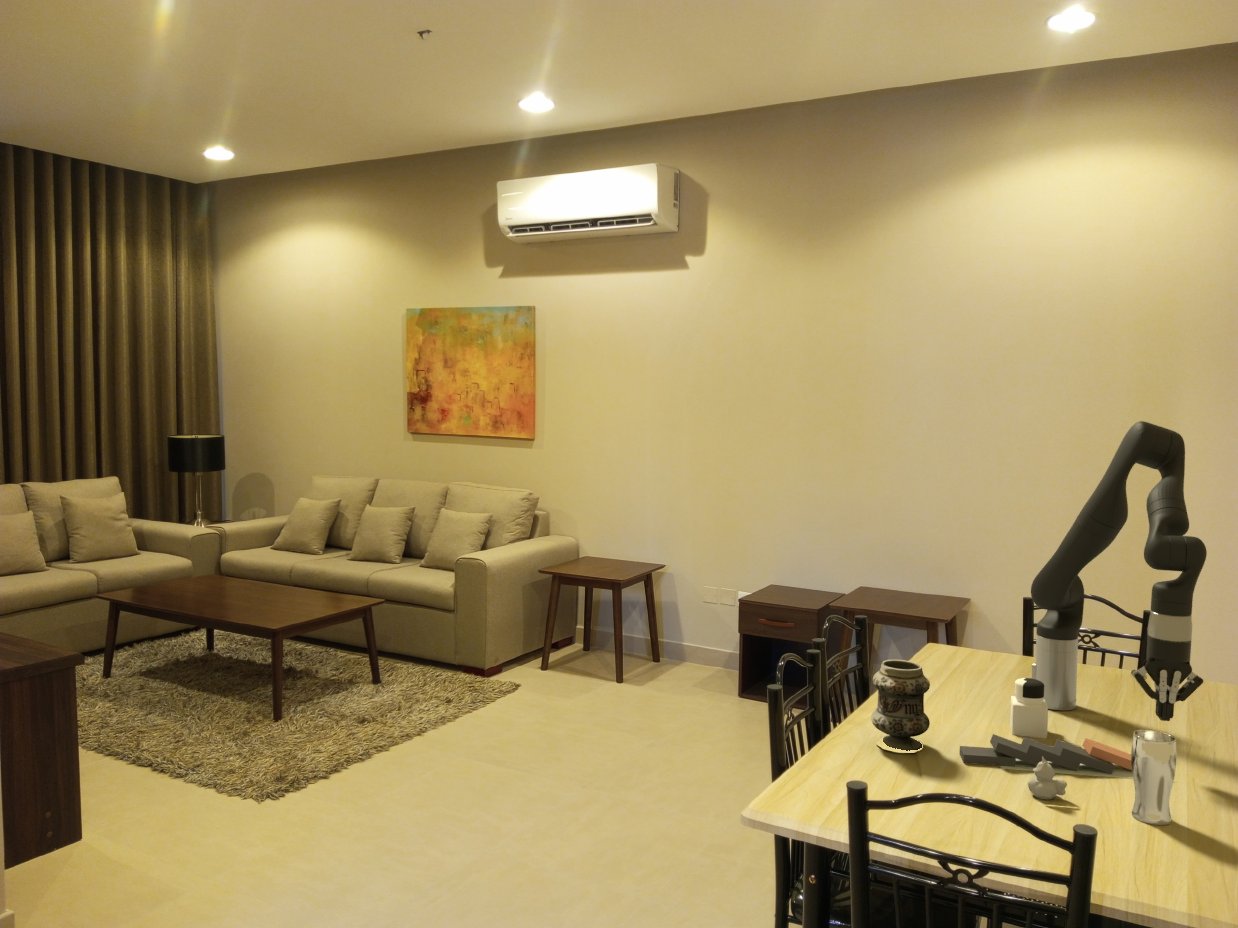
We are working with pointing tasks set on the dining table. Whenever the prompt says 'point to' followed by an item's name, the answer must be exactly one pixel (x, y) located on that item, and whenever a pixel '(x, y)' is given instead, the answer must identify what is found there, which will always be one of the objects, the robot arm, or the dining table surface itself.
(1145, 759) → the beer glass
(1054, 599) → the robot arm
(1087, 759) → the domino
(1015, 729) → the medicine bottle
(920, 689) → the apothecary jar
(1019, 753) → the domino
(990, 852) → the dining table surface
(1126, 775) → the mat
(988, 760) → the domino
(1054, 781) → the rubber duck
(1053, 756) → the domino
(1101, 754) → the domino
